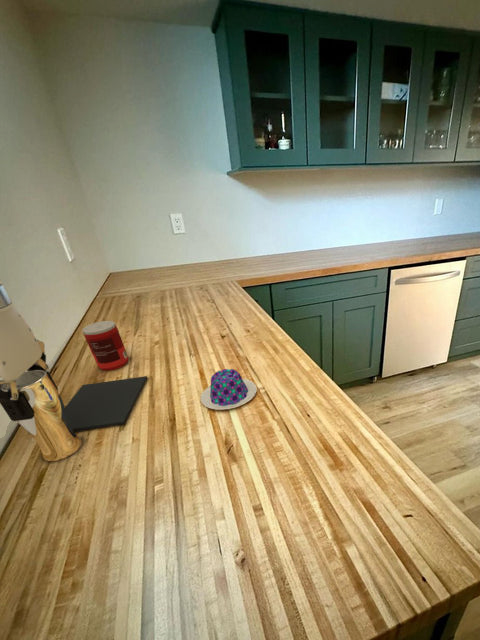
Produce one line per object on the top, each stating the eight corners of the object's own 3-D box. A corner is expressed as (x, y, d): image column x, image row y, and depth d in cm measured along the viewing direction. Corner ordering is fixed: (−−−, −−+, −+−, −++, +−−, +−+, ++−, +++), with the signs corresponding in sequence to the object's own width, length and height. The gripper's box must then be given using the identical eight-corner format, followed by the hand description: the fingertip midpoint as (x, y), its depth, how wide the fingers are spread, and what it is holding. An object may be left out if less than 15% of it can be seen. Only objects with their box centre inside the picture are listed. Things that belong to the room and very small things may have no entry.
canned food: (120, 355, 95) (105, 318, 90) (135, 361, 91) (121, 323, 85) (93, 367, 90) (76, 329, 85) (108, 374, 86) (91, 334, 80)
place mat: (45, 436, 65) (43, 433, 65) (84, 387, 81) (82, 384, 80) (124, 424, 67) (123, 421, 66) (147, 378, 82) (146, 375, 82)
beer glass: (45, 444, 63) (3, 376, 56) (86, 432, 65) (51, 365, 58) (36, 468, 58) (-12, 396, 50) (81, 454, 60) (42, 383, 52)
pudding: (240, 416, 66) (235, 394, 63) (189, 407, 70) (183, 386, 67) (266, 384, 75) (263, 363, 73) (220, 378, 79) (215, 358, 77)
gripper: (-11, 289, 55) (40, 381, 64) (-108, 329, 40) (-23, 443, 49) (37, 283, 55) (81, 376, 64) (-40, 321, 40) (32, 435, 49)
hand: (36, 404), depth 56 cm, fingers closed on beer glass, 7 cm apart
